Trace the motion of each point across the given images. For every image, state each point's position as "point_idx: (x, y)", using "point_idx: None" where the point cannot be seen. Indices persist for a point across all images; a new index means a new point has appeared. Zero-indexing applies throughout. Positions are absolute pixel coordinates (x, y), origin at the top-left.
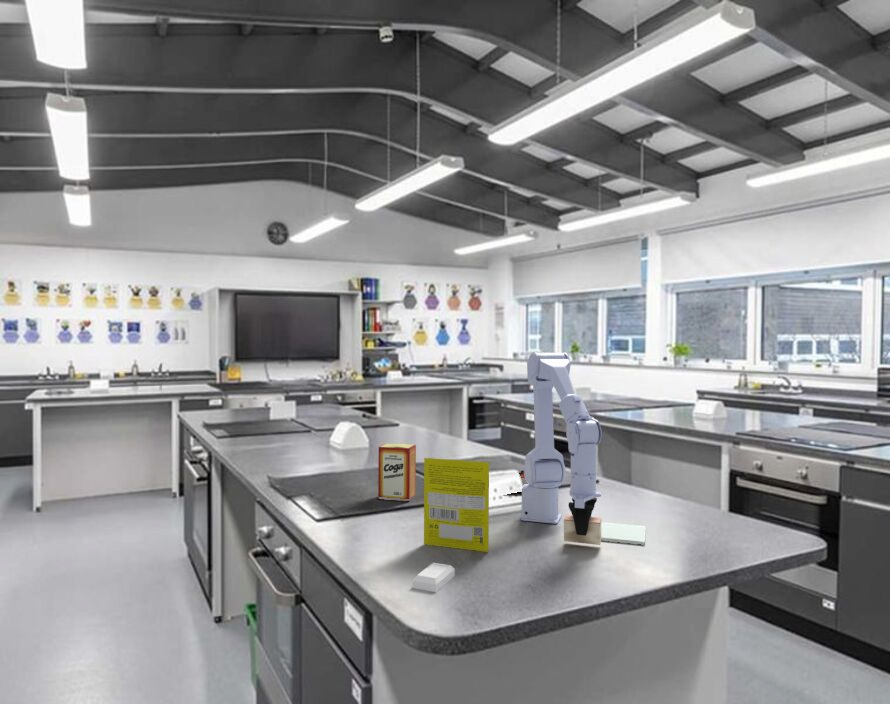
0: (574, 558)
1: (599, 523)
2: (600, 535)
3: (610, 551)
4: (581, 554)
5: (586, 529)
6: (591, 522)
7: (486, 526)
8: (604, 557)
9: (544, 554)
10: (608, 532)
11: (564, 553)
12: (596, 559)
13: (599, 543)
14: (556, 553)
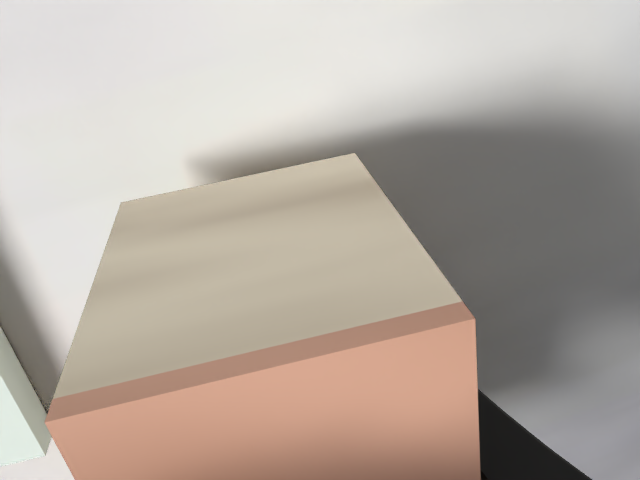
0: (635, 263)
1: (466, 318)
2: (259, 213)
3: (287, 9)
4: (514, 250)
5: (490, 404)
6: (478, 447)
7: None
8: (529, 20)
9: (600, 454)
10: None
11: (535, 365)
12: (615, 82)
13: (356, 163)
14: (554, 407)
